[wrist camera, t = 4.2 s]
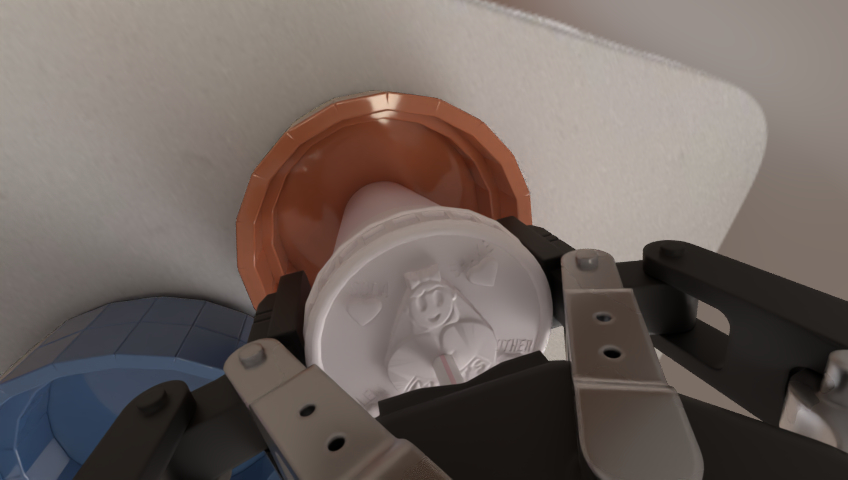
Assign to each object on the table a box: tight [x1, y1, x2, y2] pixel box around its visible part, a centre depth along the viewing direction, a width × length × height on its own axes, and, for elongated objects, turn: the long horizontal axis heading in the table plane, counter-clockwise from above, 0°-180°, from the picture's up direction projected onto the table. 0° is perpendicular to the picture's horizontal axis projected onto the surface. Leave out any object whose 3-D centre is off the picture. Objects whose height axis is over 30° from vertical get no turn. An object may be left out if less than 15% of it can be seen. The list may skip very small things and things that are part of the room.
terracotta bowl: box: [236, 90, 532, 311], centre depth 17 cm, size 11×11×4 cm
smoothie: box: [303, 181, 553, 418], centre depth 12 cm, size 6×6×14 cm
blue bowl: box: [0, 296, 280, 480], centre depth 18 cm, size 13×13×4 cm
